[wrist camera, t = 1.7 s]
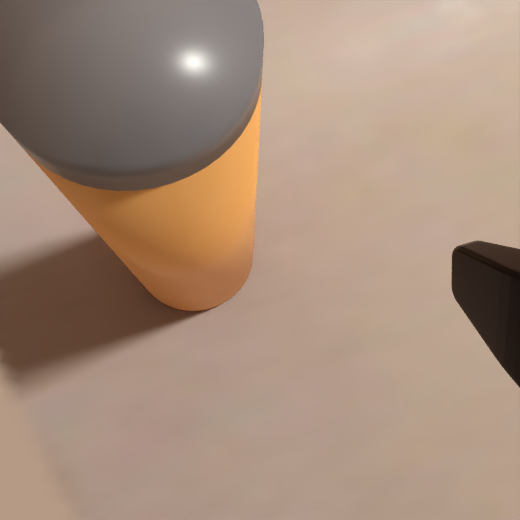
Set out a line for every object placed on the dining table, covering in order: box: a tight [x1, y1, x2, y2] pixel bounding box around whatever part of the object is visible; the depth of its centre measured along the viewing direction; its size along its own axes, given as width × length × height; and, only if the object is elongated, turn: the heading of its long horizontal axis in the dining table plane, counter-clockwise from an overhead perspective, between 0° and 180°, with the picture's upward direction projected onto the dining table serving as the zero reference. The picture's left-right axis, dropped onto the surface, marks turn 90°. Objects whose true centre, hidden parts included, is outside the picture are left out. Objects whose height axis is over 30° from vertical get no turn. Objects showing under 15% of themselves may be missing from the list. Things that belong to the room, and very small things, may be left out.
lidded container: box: [0, 0, 264, 311], centre depth 15 cm, size 5×5×13 cm
